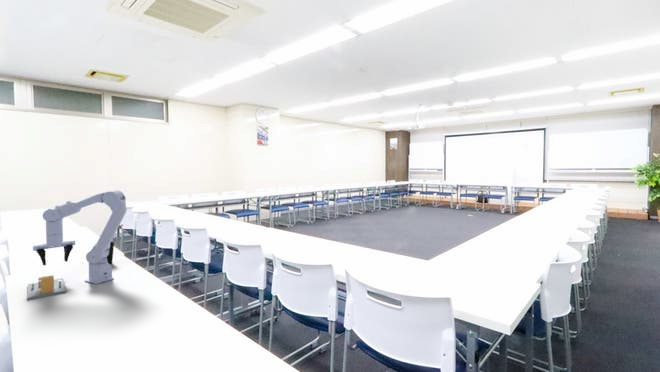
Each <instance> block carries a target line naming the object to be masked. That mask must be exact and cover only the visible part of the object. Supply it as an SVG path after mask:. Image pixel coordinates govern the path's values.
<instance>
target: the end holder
mask: <svg viewBox="0 0 660 372" xmlns="http://www.w3.org/2000/svg"><path fill="white" fill-rule="evenodd" d="M51 275H52V274H50V275H48V276H51ZM45 276H46V275H45ZM45 276H40V277H39V276H38V282H39V287H40V286H41V277H45Z"/></svg>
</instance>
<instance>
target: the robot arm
mask: <svg viewBox="0 0 660 372" xmlns="http://www.w3.org/2000/svg"><path fill="white" fill-rule="evenodd" d="M126 200H127V197H126V196H125V194H124V193H123V192H122V191H121V190H112V191H111V190H110V191H109V190H108V191H106V192H101V193H97V194H95V195H92V196H90V197H87V198H85V199H82V200H80V201H78V202H77V201H75V200H72V201H71V200H68V201H66V202H65V203H64V204H61V205H55V206H54V207H55V208H47V209H46V210H44V211H43V213H42V219H44V220H45V235H46V241H45V242H46V243H42V244H39V245H38V244H37V245H33V246H32V251H33V252H35V251H36V253H37V254H38V256H39V257H40V260H41V263H42V266H46V264H47V262H46V254H47V253H46V250H47V249H54V248H55V249H56V248H61V247H63V251H64V258H63V260H64V261H65V263H67V262H68V259H69V256H70V253H71V252H72V250H73V248H74V246H76V241H75V240H67V241H64V236H63V235H64V232H63V231H64V230H63V219H64V218H66V217H70V216H72V215H74V214H78V213H79V212H81V209H82V208H85V207H88V206H91V205H94V204H96V203H97V204H98V203H99V204H103V203H104V204H105V205H106V206H107V207H109V208H110V210H111V215H110V216H109V219H108V220H107V222H106V225H105V227H104V229H103V230H102V232H101V234H100V235H99V239H98V240H97V242H96V243H95V245H93V247H92V248H91V250H90V251H88V252H87V253H86V254H85V259H86V261H87V262H88V279H85V280H84V282H86V283H91V284H95V285H99V284H102V283H105V282H107V281H112V280H114V279H115V278H114V277H113V267H112V264H109V263H108V262H107V256H108V255H109V248H110V243H111V242H113V238H114V237H115V235H116V233H117V231H118V229H119V227H120V225H121V223H122V221H123V219H124V217H125V215H126V213H127V206H126V205H127V204H126Z"/></svg>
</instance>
